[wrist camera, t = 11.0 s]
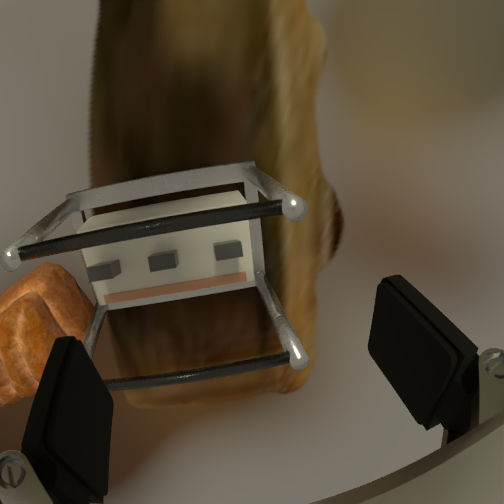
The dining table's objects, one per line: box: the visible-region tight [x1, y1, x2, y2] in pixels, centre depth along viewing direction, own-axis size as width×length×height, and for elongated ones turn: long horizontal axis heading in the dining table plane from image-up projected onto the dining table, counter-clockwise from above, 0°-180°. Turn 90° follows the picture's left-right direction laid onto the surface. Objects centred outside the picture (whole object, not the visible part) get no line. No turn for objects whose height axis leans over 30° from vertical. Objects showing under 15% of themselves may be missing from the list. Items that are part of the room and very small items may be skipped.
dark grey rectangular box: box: [148, 249, 179, 272], centre depth 34 cm, size 2×3×4 cm, turn 96°
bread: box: [0, 263, 94, 408], centre depth 35 cm, size 14×26×16 cm, turn 115°
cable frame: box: [0, 160, 309, 391], centre depth 33 cm, size 17×25×19 cm
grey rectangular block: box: [87, 259, 122, 282], centre depth 33 cm, size 2×3×4 cm, turn 96°
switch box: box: [77, 190, 255, 305], centre depth 39 cm, size 10×20×6 cm, turn 96°
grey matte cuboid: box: [213, 239, 243, 261], centre depth 35 cm, size 2×3×4 cm, turn 96°
